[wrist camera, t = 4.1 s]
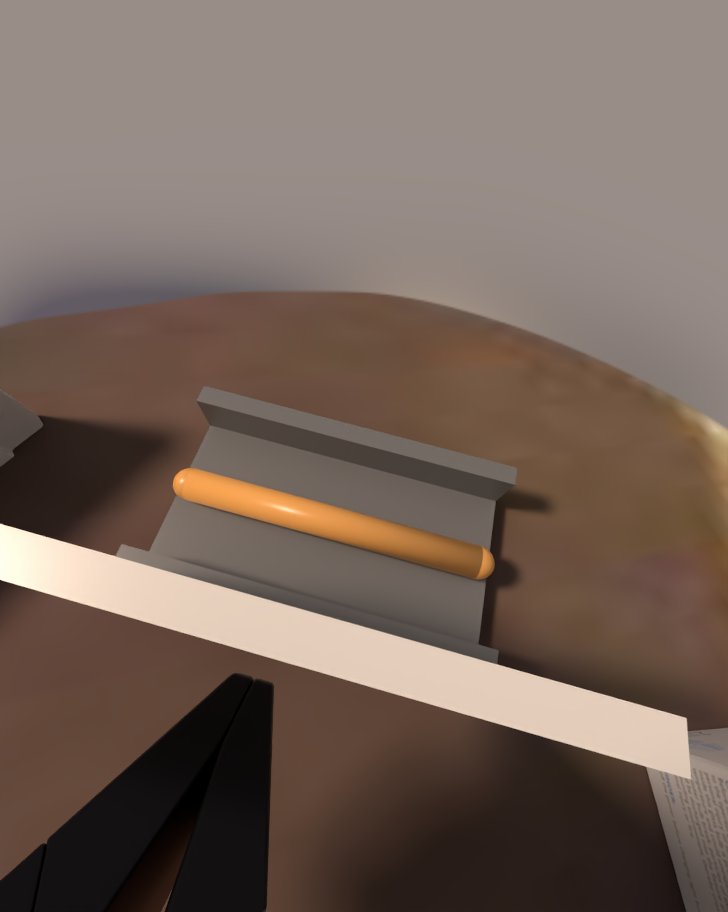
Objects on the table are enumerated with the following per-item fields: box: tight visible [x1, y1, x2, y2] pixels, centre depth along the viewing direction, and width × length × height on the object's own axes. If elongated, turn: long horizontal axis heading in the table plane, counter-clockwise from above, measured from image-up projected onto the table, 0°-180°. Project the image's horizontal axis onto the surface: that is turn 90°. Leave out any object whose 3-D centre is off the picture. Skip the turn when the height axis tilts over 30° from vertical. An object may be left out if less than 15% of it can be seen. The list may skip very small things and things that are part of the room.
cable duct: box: [115, 386, 517, 664], centre depth 17 cm, size 8×14×3 cm, turn 76°
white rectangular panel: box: [0, 524, 691, 779], centre depth 10 cm, size 8×14×1 cm
